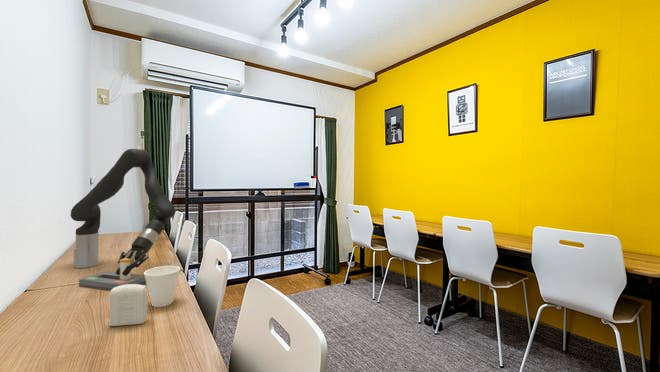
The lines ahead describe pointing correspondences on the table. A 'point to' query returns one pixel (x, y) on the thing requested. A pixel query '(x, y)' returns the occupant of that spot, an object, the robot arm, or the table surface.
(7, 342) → the table surface
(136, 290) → the photo printer
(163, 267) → the cup
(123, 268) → the handle
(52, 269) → the table surface
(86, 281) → the slotted lever switch base
